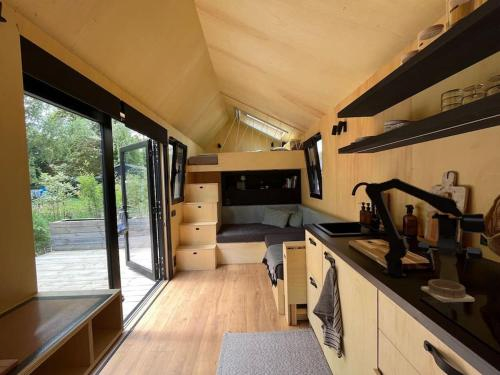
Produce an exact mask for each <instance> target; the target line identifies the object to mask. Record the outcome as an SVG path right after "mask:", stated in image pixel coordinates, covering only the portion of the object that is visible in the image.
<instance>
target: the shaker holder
mask: <svg viewBox="0 0 500 375" xmlns="http://www.w3.org/2000/svg"><path fill="white" fill-rule="evenodd" d="M427 283H428V284H427V285H428V286H424V285H423V286H421V288H420V290H422V291H423V292H425V293H427V294H428V295H430V296H431V297H433V298H435V299H436V300H438V301H440V302H441V303H466V302H468V303H469V302H470V303H471V302H475V297H473V296H471V295H469V294H467V292H466V291H467V290H466V287H465V285H463V284H461V283H460V282H459V283H457V282H453V281H449V280H442V279H439V278H437V279H436V278H435V279H434V278H433V279H432V278H431V279H430V280H428V282H427Z"/></svg>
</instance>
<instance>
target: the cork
mask: <svg viewBox="0 0 500 375" xmlns="http://www.w3.org/2000/svg"><path fill="white" fill-rule="evenodd" d="M439 261H440V262H441V264H440V270H439V271H440V272H439V278H438V279H442V280H449V281H453V282H457V283H459V284H460V280H459V276H458V270H457V265H456V264H457V262H458V258H457V256H456V255H455V256H449V255H440V254H439Z"/></svg>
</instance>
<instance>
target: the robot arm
mask: <svg viewBox="0 0 500 375" xmlns="http://www.w3.org/2000/svg"><path fill="white" fill-rule="evenodd" d="M392 189H396V190H398V191H400V192H403V193H405V194H407V195H409V196H412V197H414V198H416V199H419V200H421V201H423V202H425V203H426V204H428V205H430V206H431V207H432V208H434V209H436V210H437V211H435V213H434V214H432V215H431V219H434V220H437V242H436V245H432V243H431V242H428V241H427V242H425V241H420V242H419V243H417V244H416V251H417V252H420V253H421V254H422V255H424V256H425V257H426V259H427V260H428V262H429V265H430V267H431V269H432V271H435V262H434V255H433V254H434V253H433V252H436V251H437V254H438V255H439V256H440V255H449V256H456V254H461V255H465V256H466V257H465V263H464V269H463V275H464V277H466V276H467V273H468V272H469V271H468V270H469V268H470V266H471V265H472V263H473V262H477V261H478V260H483V249H481V248H480V247H476V246H467V247H466V248H463V242H460V241H458V221H459V230H462V231H463V233H470V234H471V233H473V234H486V223H485V216H484V214H483V213H463V211H462V210H461V209H460V208H458V206H457V202H456V200H455V199H454V198H453V197H450V196H446V195H442V194H437V193H433V192H429V191H428V190H424V189H422V188H420V187H417V186H415V185H412V184H411V183H408V182H405V181H403V180H401V179H400V178H396V177H395V178H391V179H390V180H386V181H383V182H379V183H378V182H372V183H368V184H367V185H366V186H365V189H364V191H365V194H366V195H367V197H368V199H369V200H370V201H371V202H372V204H373V205H374V208H375V209H376V211H377V214H378V216H379V219H380V221H381V223H382V226H383V229H384V231H385V234H386V235H387V240H388V241H387V242H388V248H389V250H388V251H387V252H386V253H385V255H384V256H383V257H384V260H385V262H386V263H385V265H386V270H383V271H382V273H384V274H386V275H387V276H389V277H390V278H401V277H407V276H408V275H407V274H405V273H403V272H404V270H403V269H404V268H403V267H404V265H403V260H402V259H404V258H405V257H406V255H407V253H408V252H409V247H410V244H408V242H407V238H406V236H401V235H400V233H399V232H398V230H397V227H396V225H395V223H394V220H393V217H392V215H391V212H390V210H389V208H388V206H387V203H386V200H385V199H386V196H385V192H386V191H389V190H390V191H391V190H392ZM439 212H441V213H439ZM449 214H450V215H452V216H450V215H449Z"/></svg>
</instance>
